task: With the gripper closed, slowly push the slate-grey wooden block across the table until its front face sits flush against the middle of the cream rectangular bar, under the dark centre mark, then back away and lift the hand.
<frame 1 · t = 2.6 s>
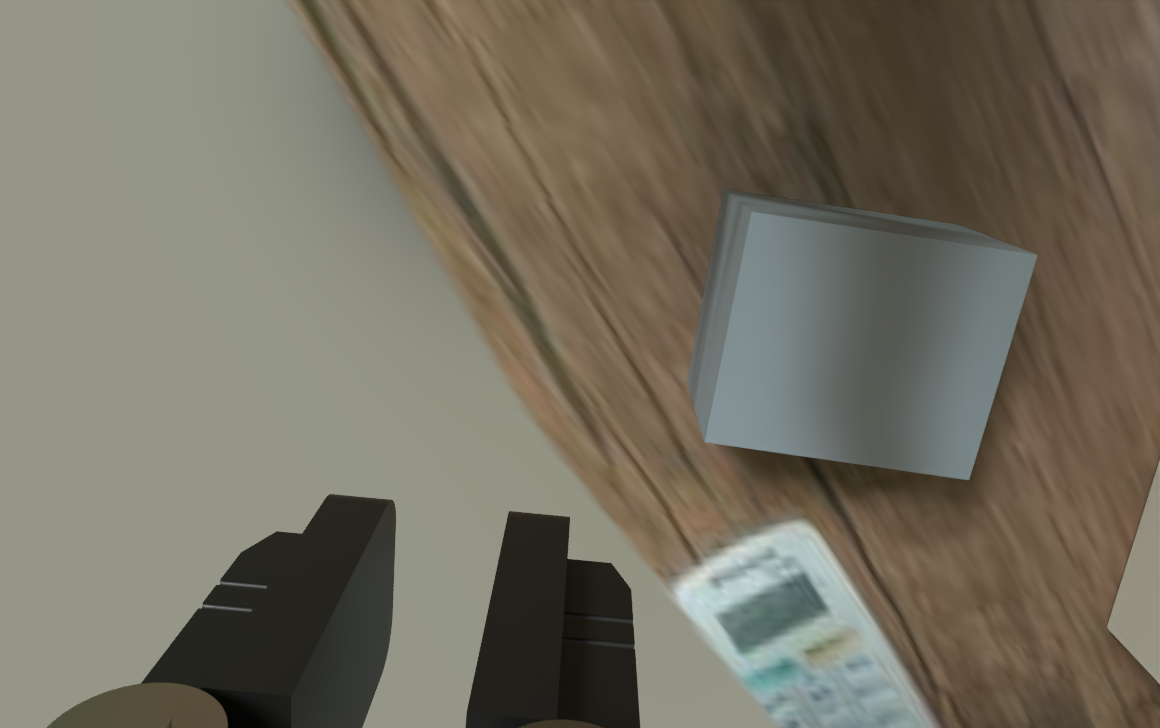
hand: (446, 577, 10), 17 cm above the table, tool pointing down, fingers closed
block: (817, 304, 27), on the table
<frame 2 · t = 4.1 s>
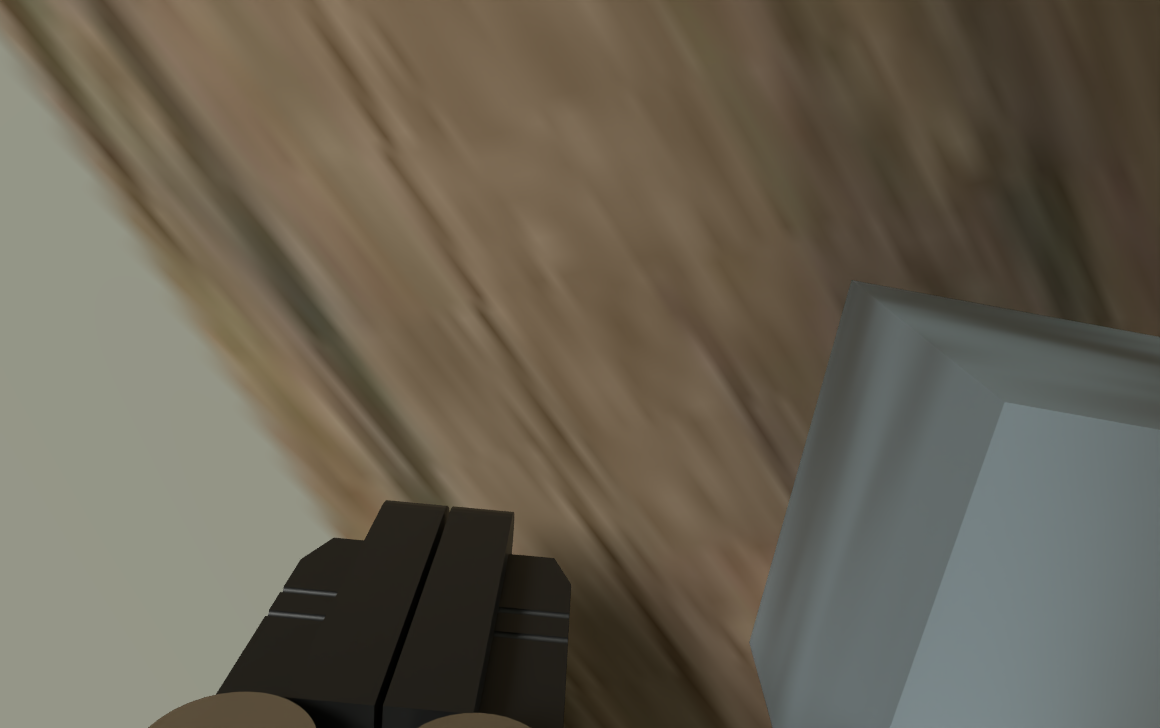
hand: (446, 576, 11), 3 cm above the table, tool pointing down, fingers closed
block: (1018, 508, 14), on the table
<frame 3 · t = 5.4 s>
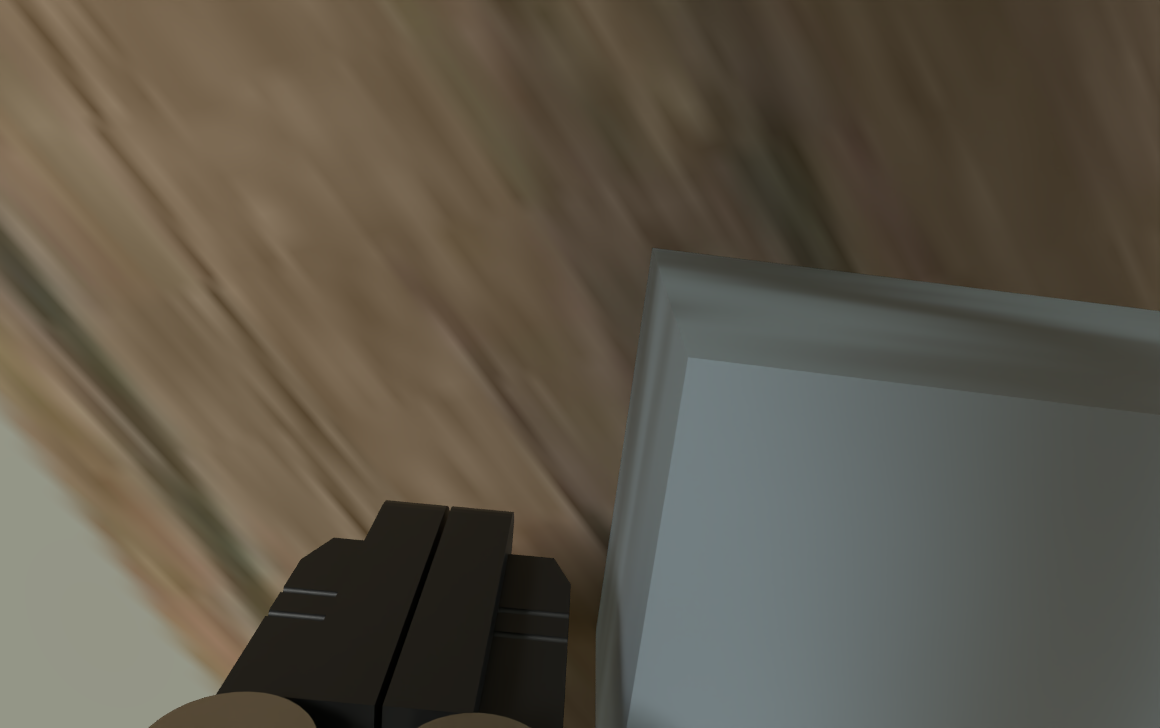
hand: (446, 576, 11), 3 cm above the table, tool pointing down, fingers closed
block: (861, 481, 13), on the table, touching gripper
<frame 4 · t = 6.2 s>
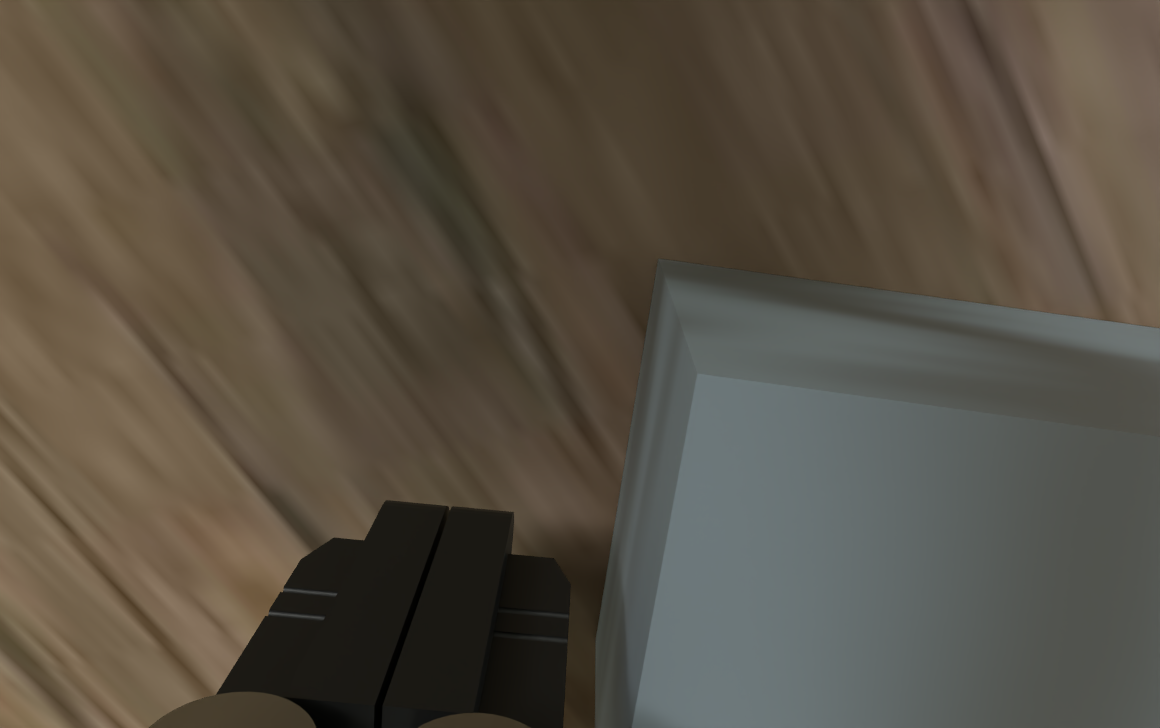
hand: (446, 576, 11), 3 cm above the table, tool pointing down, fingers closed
block: (863, 494, 13), on the table, touching gripper
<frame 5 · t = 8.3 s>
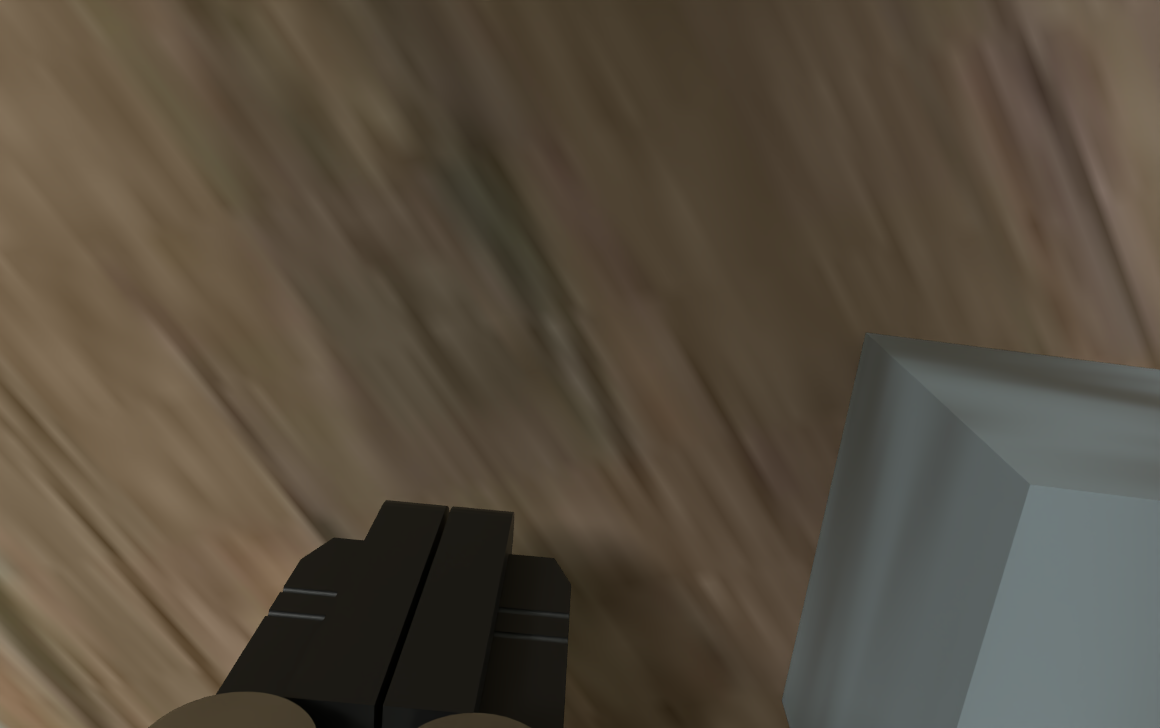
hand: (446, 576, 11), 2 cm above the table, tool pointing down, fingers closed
block: (1051, 553, 13), on the table
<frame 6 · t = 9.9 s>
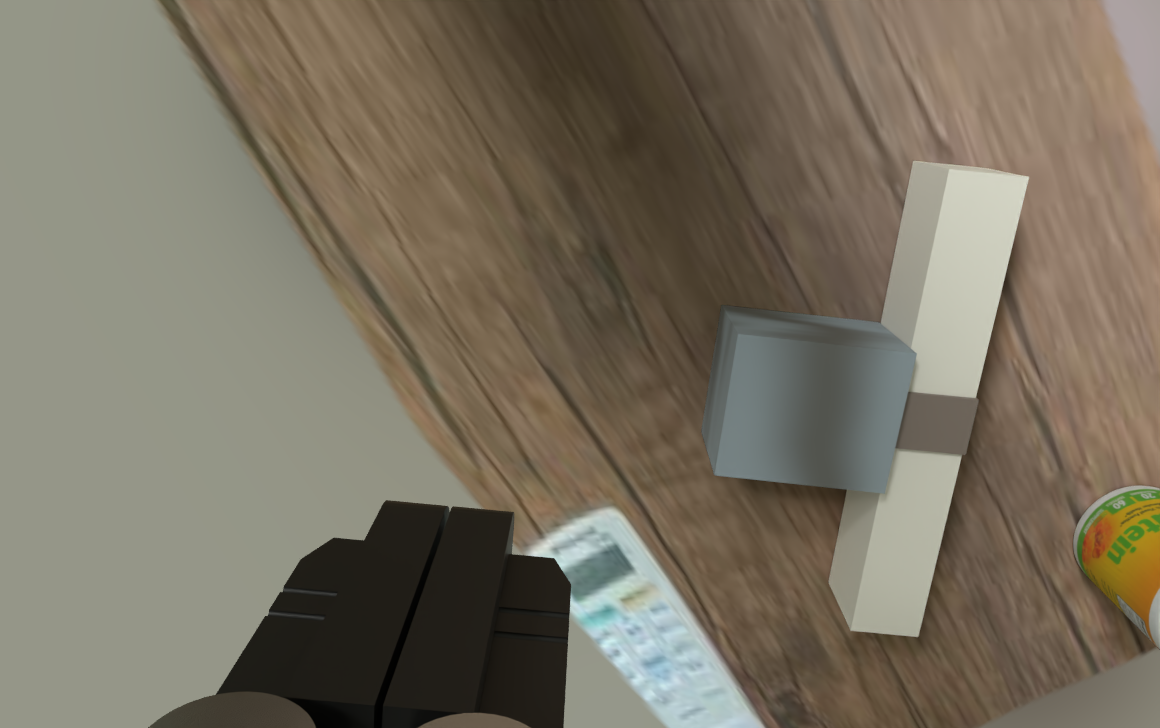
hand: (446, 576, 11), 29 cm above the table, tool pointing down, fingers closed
cream rectangular bar: (900, 390, 40), on the table
block: (787, 377, 40), on the table
supplement bottle: (1125, 532, 42), on the table
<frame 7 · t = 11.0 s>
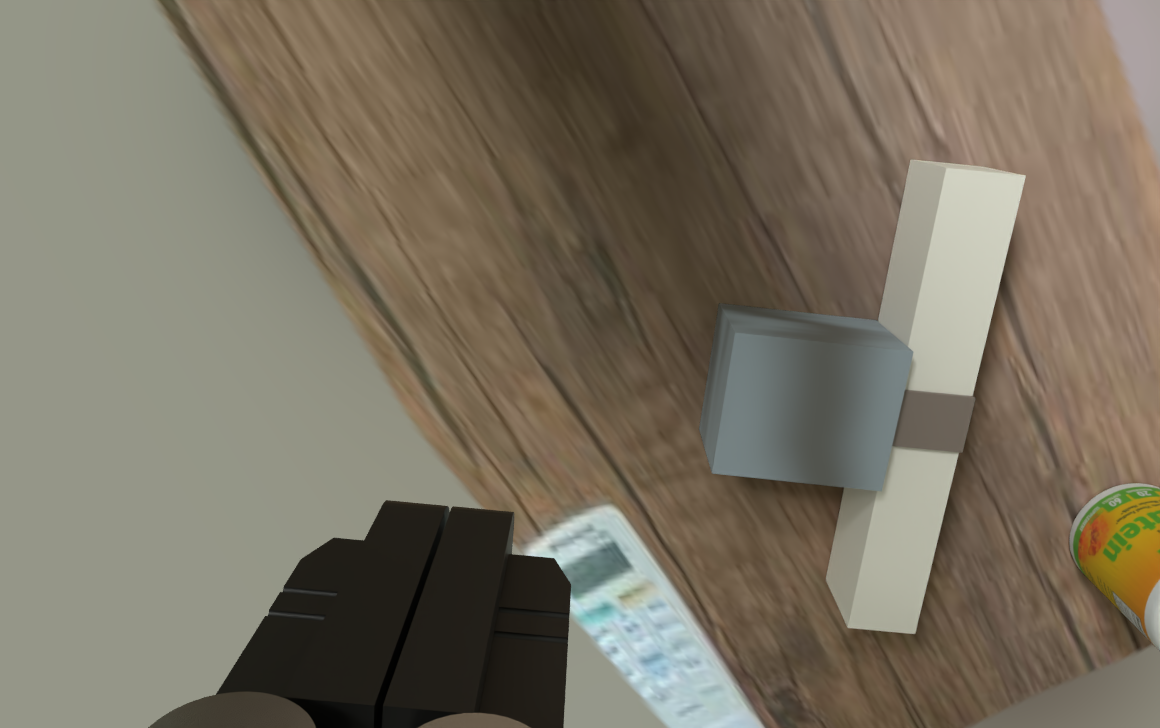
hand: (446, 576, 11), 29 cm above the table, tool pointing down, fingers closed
cream rectangular bar: (897, 388, 40), on the table
block: (785, 375, 40), on the table
supplement bottle: (1121, 529, 42), on the table
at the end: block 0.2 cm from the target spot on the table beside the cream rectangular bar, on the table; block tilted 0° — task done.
